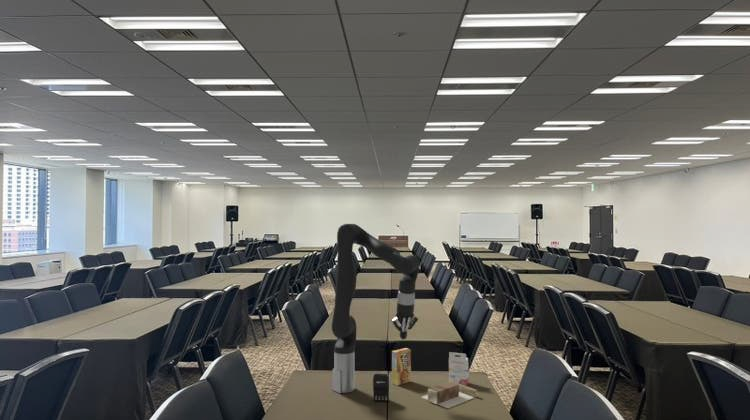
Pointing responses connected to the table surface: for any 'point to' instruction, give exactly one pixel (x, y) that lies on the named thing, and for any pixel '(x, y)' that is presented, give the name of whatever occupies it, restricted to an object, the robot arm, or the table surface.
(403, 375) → the candy box
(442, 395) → the brown block
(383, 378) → the battery charger
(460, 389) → the birch lip
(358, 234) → the robot arm
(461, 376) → the ink cartridge box
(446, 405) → the felt mat
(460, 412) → the table surface
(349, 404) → the table surface
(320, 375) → the table surface
